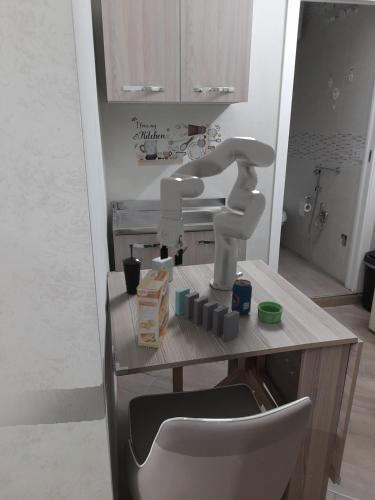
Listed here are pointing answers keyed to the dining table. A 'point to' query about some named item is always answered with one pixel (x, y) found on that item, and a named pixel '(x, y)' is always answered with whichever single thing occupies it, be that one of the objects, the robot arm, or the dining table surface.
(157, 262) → the small box
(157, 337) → the coffeecake box
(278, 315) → the ramekin
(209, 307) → the tile
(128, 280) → the drinking cup
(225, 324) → the tile
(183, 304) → the teal tile
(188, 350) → the dining table surface
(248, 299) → the soda can
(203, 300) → the tile
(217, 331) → the tile
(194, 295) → the tile
